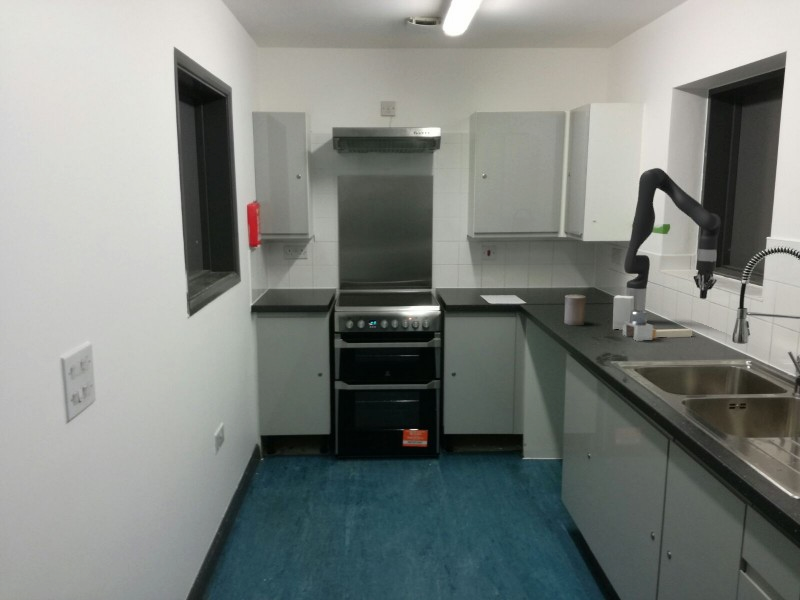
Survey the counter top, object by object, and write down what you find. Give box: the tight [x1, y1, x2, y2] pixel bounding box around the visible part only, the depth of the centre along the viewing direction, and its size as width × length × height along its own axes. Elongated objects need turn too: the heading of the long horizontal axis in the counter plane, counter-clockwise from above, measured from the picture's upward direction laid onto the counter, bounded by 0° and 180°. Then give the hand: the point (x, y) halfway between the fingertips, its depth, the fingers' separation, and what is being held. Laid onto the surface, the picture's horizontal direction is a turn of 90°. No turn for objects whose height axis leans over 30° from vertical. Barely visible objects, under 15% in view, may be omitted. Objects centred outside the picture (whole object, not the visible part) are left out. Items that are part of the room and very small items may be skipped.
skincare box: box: [612, 294, 634, 331], centre depth 278 cm, size 8×7×16 cm
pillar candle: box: [563, 294, 587, 327], centre depth 291 cm, size 10×10×15 cm
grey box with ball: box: [622, 310, 654, 342], centre depth 262 cm, size 12×7×12 cm, turn 9°
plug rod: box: [652, 328, 693, 339], centre depth 265 cm, size 4×23×4 cm, turn 99°
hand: (703, 298), depth 265 cm, fingers closed
